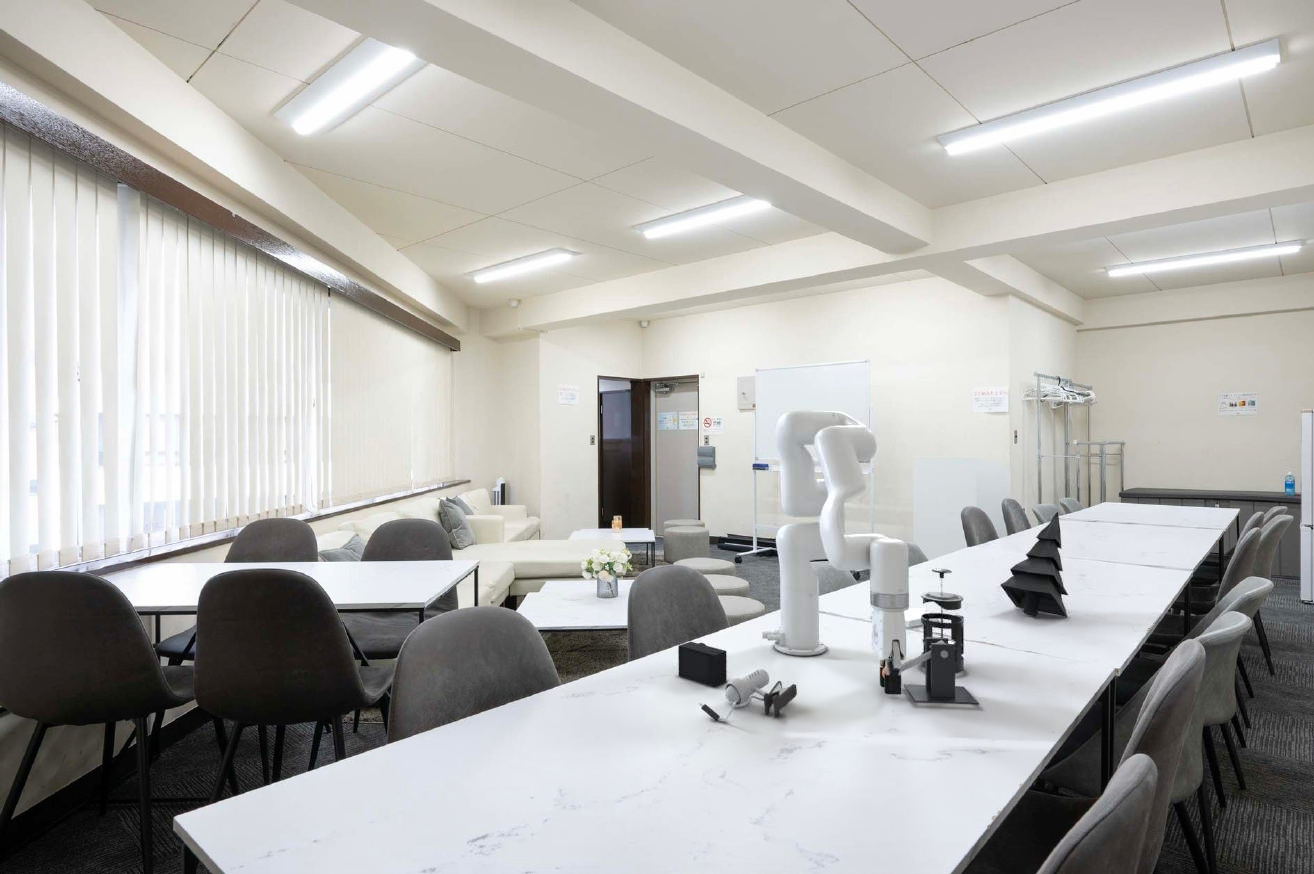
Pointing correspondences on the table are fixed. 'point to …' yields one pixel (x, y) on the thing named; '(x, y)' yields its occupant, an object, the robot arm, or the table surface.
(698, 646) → the digital camera
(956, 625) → the french press
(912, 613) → the mounting plate
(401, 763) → the table surface
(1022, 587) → the decorative tree
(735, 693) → the clip-on lamp
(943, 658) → the switch bracket
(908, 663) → the switch lever
